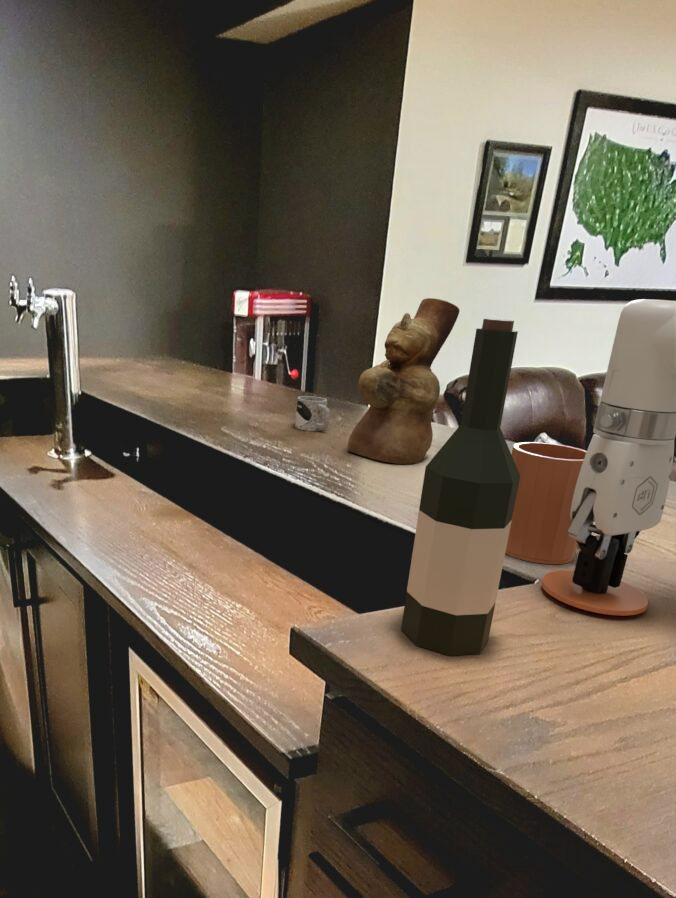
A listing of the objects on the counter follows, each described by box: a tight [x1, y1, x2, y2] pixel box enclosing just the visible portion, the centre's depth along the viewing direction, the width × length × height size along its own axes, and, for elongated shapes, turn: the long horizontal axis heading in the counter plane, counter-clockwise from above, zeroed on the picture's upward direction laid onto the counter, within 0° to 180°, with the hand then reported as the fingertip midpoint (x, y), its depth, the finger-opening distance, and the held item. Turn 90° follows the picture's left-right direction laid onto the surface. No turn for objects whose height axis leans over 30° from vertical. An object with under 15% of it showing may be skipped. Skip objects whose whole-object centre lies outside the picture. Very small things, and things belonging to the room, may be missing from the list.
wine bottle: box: [400, 318, 520, 657], centre depth 66 cm, size 8×8×30 cm
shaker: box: [505, 441, 587, 565], centre depth 93 cm, size 10×10×14 cm
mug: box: [294, 395, 331, 432], centre depth 162 cm, size 10×7×7 cm
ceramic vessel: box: [347, 297, 461, 465], centre depth 140 cm, size 16×22×30 cm
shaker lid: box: [541, 534, 649, 617], centre depth 80 cm, size 11×11×7 cm
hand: (595, 583), depth 81 cm, fingers closed on shaker lid, 2 cm apart
